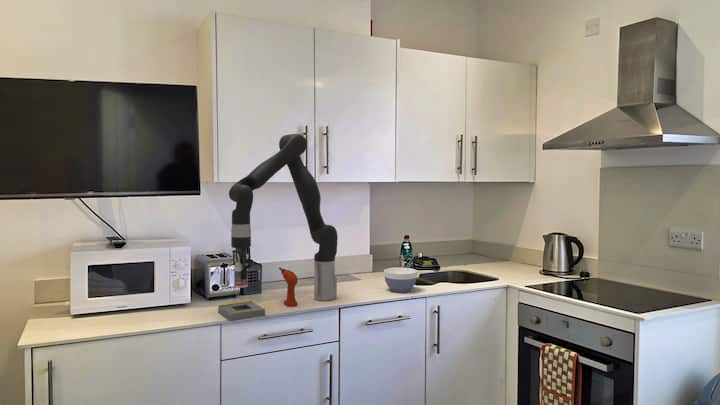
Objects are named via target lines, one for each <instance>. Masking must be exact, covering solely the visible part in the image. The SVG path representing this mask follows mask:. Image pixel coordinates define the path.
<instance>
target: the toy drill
mask: <svg viewBox="0 0 720 405" xmlns="http://www.w3.org/2000/svg"><path fill="white" fill-rule="evenodd" d="M278 269H279V270H280V273H281V274H282V278H283V279H284V280H285V283H286V284H287V289H286V299H285V300H283V305H284V306H286V307H291V308H293V307H297V306H298V301H297V300H296V296H295V291H296V290H295V287H296V285H297V284H298V282H299V281H298V276H297V274H296V273H294V271H292V270H289V269H286V268H284V269H283V268H282V267H278Z"/></svg>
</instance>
